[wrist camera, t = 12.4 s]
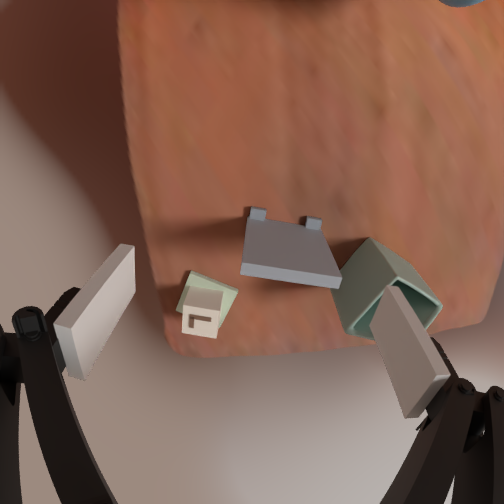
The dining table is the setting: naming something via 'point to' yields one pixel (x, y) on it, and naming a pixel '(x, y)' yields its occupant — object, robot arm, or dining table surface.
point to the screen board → (288, 251)
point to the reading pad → (209, 283)
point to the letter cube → (202, 311)
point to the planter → (379, 288)
